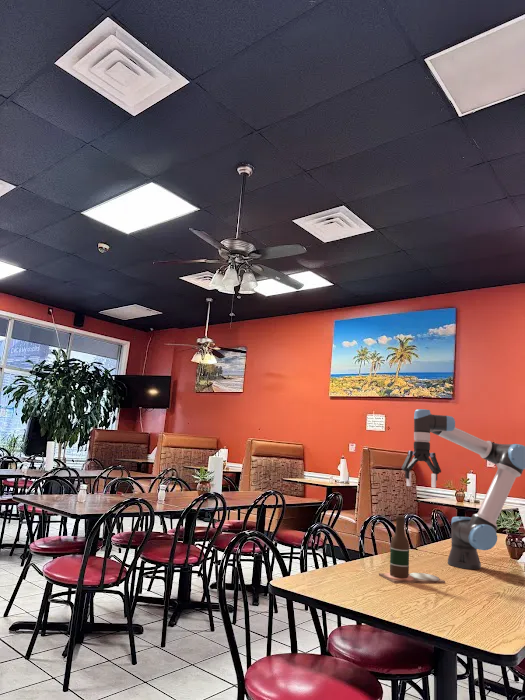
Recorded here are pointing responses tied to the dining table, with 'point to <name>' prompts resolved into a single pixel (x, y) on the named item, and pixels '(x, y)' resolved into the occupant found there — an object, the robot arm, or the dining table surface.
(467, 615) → the dining table surface
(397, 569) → the beer bottle
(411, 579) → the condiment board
